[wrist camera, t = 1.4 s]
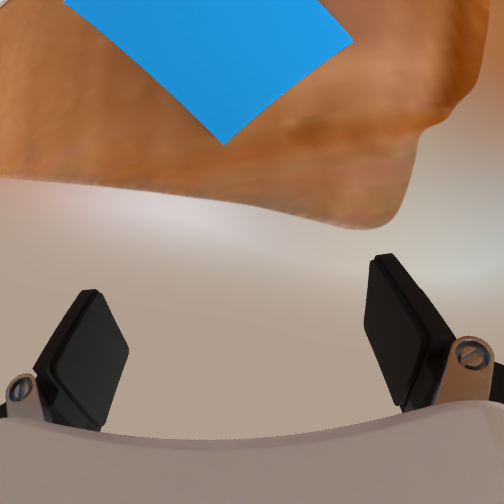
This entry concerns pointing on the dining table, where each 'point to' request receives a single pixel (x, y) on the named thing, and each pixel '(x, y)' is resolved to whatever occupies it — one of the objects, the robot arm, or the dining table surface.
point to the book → (220, 50)
